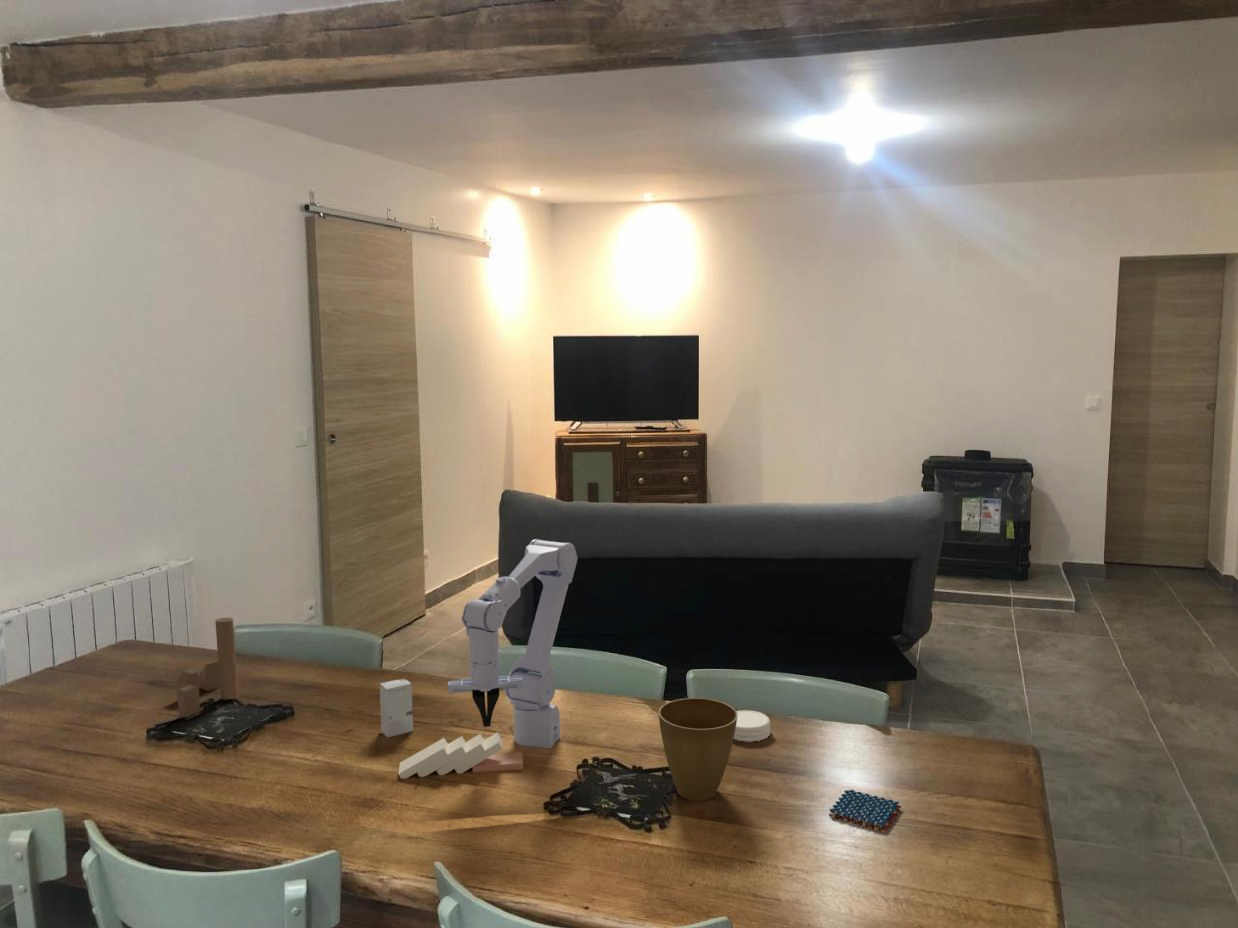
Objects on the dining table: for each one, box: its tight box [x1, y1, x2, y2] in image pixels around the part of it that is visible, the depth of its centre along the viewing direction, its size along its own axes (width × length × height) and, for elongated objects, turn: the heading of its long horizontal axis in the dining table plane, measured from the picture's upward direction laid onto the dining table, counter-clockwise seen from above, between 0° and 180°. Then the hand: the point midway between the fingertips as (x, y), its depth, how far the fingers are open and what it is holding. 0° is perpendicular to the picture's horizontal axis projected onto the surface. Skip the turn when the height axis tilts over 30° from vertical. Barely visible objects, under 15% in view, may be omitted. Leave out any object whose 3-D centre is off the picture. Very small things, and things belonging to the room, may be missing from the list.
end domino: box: [472, 751, 524, 774], centre depth 188 cm, size 2×5×10 cm
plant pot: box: [657, 697, 738, 802], centre depth 177 cm, size 15×15×16 cm
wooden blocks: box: [176, 616, 239, 718], centre depth 226 cm, size 17×20×20 cm
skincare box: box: [379, 678, 414, 738], centre depth 204 cm, size 6×4×12 cm
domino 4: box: [454, 731, 503, 775], centre depth 187 cm, size 2×5×10 cm
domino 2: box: [416, 735, 467, 778], centre depth 186 cm, size 2×5×10 cm
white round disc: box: [734, 709, 771, 743], centre depth 204 cm, size 10×10×4 cm
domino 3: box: [435, 733, 485, 776], centre depth 186 cm, size 2×5×10 cm
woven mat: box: [828, 789, 902, 833], centre depth 169 cm, size 10×11×2 cm
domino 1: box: [398, 737, 449, 780], centre depth 185 cm, size 2×5×10 cm
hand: (486, 724), depth 186 cm, fingers closed
